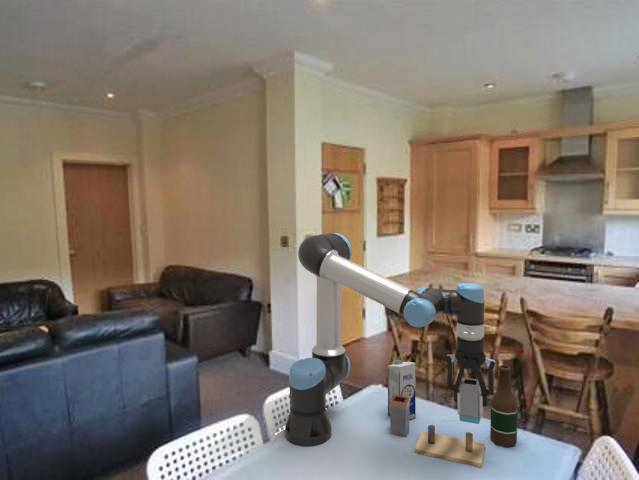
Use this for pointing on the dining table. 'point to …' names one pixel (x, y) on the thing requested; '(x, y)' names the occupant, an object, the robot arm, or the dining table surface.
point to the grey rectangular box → (470, 400)
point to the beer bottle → (504, 411)
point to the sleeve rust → (399, 415)
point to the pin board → (450, 447)
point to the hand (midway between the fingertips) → (470, 414)
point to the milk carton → (402, 383)
